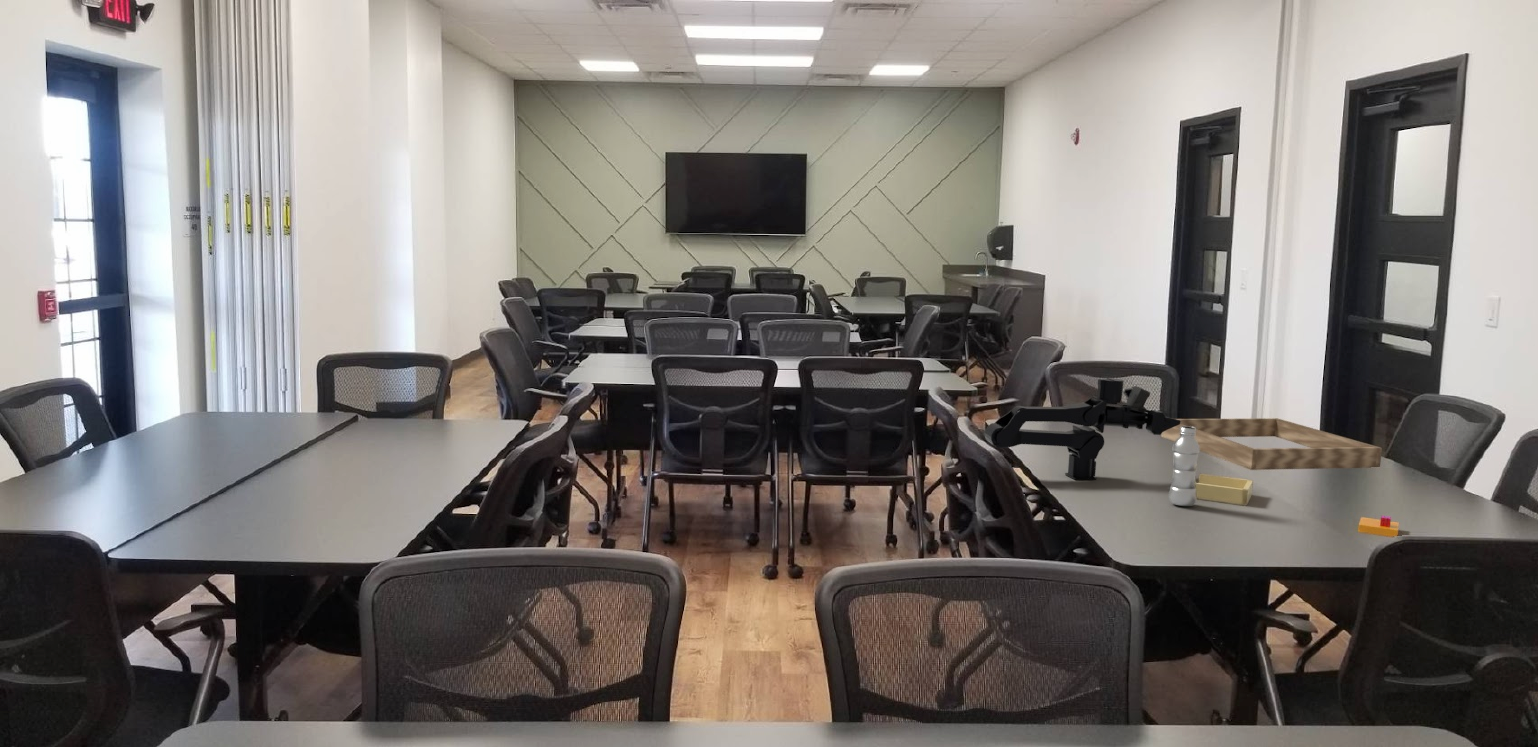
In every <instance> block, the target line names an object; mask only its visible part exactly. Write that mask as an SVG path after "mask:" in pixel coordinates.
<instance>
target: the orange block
mask: <svg viewBox="0 0 1538 747" xmlns="http://www.w3.org/2000/svg"><path fill="white" fill-rule="evenodd" d="M1380 516H1381V517H1380V519H1379V518H1378V519H1377V518H1371V517H1364V516H1361V517H1360V520H1359V524H1358V530H1357V532H1358V533H1363V534H1369V535H1378V536H1382V537H1383V536H1384V537H1390V538H1393V537H1392V536H1397V535H1398V536H1399V530H1400V522H1399V521H1398V522H1396V521H1392V516H1386V515H1380Z"/></svg>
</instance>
